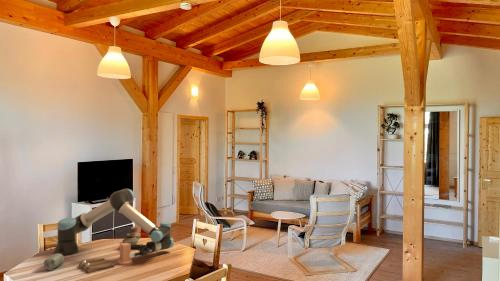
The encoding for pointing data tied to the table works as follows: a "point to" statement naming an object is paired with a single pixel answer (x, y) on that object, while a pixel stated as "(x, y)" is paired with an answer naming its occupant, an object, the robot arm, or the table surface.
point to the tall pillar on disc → (125, 254)
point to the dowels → (85, 264)
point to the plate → (97, 265)
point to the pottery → (132, 236)
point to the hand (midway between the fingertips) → (124, 253)
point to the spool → (53, 261)
